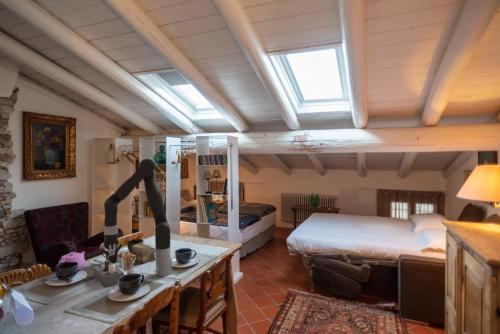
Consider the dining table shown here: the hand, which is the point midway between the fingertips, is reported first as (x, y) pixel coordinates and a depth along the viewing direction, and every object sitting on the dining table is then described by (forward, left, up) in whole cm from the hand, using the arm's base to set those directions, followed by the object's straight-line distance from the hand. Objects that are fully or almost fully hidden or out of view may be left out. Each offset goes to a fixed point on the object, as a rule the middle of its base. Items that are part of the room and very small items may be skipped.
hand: (111, 261), depth 184 cm
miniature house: (-30, -23, -14) cm, 40 cm away
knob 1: (0, -15, -12) cm, 19 cm away
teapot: (+13, -36, -14) cm, 41 cm away
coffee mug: (-11, -36, -14) cm, 40 cm away
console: (0, -7, -13) cm, 15 cm away
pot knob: (0, -7, -8) cm, 11 cm away
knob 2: (0, 0, -8) cm, 8 cm away
